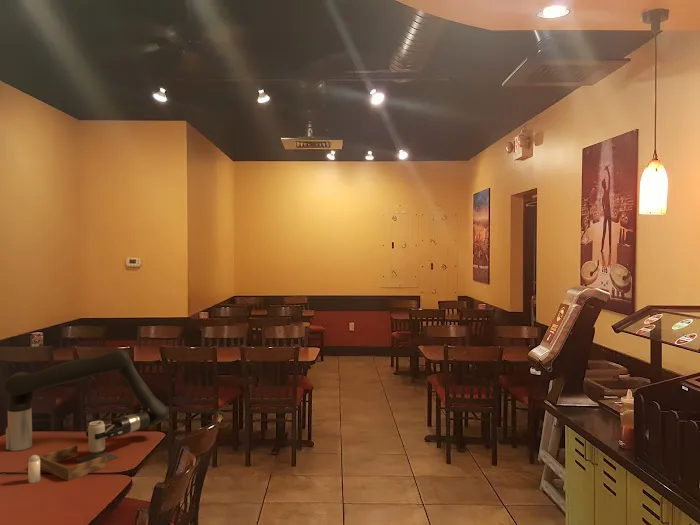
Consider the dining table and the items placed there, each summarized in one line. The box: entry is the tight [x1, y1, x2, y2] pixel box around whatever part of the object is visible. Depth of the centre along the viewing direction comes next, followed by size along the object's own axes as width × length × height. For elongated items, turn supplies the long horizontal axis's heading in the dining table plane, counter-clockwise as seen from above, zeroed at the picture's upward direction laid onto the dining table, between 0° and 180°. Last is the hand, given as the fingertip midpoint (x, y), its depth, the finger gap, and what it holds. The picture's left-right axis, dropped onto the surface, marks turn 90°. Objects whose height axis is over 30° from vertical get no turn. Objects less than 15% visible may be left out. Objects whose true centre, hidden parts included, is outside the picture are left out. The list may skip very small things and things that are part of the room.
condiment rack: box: [38, 444, 108, 481], centre depth 225 cm, size 16×22×4 cm
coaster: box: [74, 450, 119, 463], centre depth 234 cm, size 12×12×1 cm
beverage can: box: [87, 420, 106, 454], centre depth 233 cm, size 6×6×12 cm
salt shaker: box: [27, 454, 41, 484], centre depth 212 cm, size 4×4×10 cm
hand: (91, 435), depth 231 cm, fingers closed on beverage can, 5 cm apart
